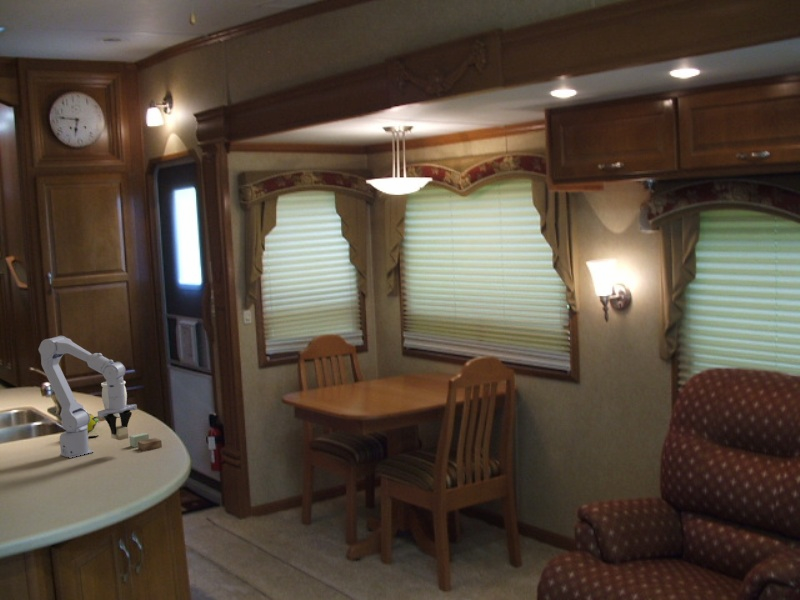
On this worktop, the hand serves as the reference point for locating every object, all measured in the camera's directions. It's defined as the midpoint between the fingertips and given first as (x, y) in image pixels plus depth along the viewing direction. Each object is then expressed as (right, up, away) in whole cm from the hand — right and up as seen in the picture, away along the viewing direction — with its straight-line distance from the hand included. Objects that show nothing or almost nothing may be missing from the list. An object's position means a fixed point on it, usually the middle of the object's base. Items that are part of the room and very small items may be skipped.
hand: (119, 432), depth 329 cm
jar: (-22, -3, +67) cm, 71 cm away
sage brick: (+4, -7, +13) cm, 15 cm away
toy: (-25, -6, +40) cm, 48 cm away
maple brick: (0, -2, 0) cm, 2 cm away
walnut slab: (+9, -7, +8) cm, 14 cm away
